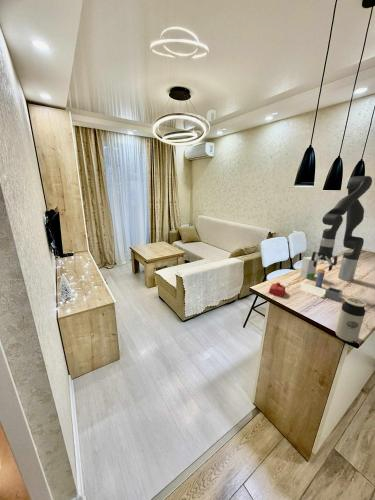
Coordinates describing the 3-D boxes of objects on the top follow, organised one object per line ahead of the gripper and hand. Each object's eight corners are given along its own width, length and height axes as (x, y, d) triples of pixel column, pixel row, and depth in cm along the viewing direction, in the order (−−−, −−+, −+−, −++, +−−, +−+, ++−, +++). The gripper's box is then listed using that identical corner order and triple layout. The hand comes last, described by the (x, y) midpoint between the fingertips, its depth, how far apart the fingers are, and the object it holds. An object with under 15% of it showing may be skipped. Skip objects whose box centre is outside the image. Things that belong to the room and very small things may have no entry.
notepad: (301, 283, 149) (301, 282, 149) (330, 292, 136) (331, 291, 136) (293, 289, 140) (293, 287, 140) (323, 299, 127) (323, 297, 127)
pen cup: (328, 293, 134) (329, 286, 133) (340, 298, 129) (342, 290, 128) (324, 297, 130) (325, 290, 128) (337, 301, 125) (339, 294, 123)
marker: (316, 285, 145) (319, 268, 142) (322, 287, 143) (325, 270, 139) (314, 287, 143) (317, 270, 140) (320, 289, 140) (323, 271, 137)
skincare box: (305, 279, 156) (309, 259, 151) (299, 276, 162) (302, 257, 158) (314, 278, 158) (318, 258, 154) (307, 275, 164) (311, 256, 160)
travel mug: (336, 328, 100) (344, 294, 95) (357, 336, 95) (367, 300, 90) (334, 337, 94) (343, 301, 89) (356, 345, 89) (367, 308, 84)
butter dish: (284, 301, 125) (287, 288, 122) (265, 296, 131) (266, 283, 128) (287, 293, 134) (289, 281, 131) (269, 289, 140) (270, 277, 137)
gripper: (341, 246, 132) (336, 270, 136) (316, 242, 142) (312, 264, 147) (338, 248, 127) (332, 273, 132) (312, 243, 137) (308, 267, 142)
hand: (322, 268), depth 139 cm, fingers open, 8 cm apart
